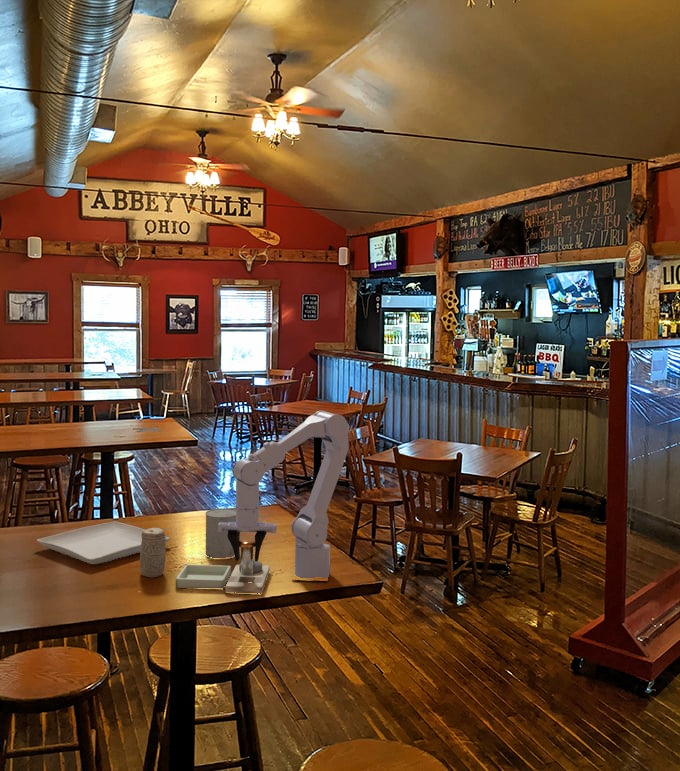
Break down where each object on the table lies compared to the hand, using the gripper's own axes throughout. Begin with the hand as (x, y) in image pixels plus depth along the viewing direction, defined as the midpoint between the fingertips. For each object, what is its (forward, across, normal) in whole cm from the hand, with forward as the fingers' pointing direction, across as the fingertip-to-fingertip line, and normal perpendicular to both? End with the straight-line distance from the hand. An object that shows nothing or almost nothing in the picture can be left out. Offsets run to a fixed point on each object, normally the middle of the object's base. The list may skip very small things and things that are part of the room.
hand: (247, 559), depth 186 cm
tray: (+7, -12, +3) cm, 14 cm away
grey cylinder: (+7, -11, +25) cm, 28 cm away
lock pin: (+3, 0, 0) cm, 3 cm away
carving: (+7, -26, +7) cm, 28 cm away
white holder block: (+7, 0, +3) cm, 8 cm away
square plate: (+8, -46, +27) cm, 54 cm away
